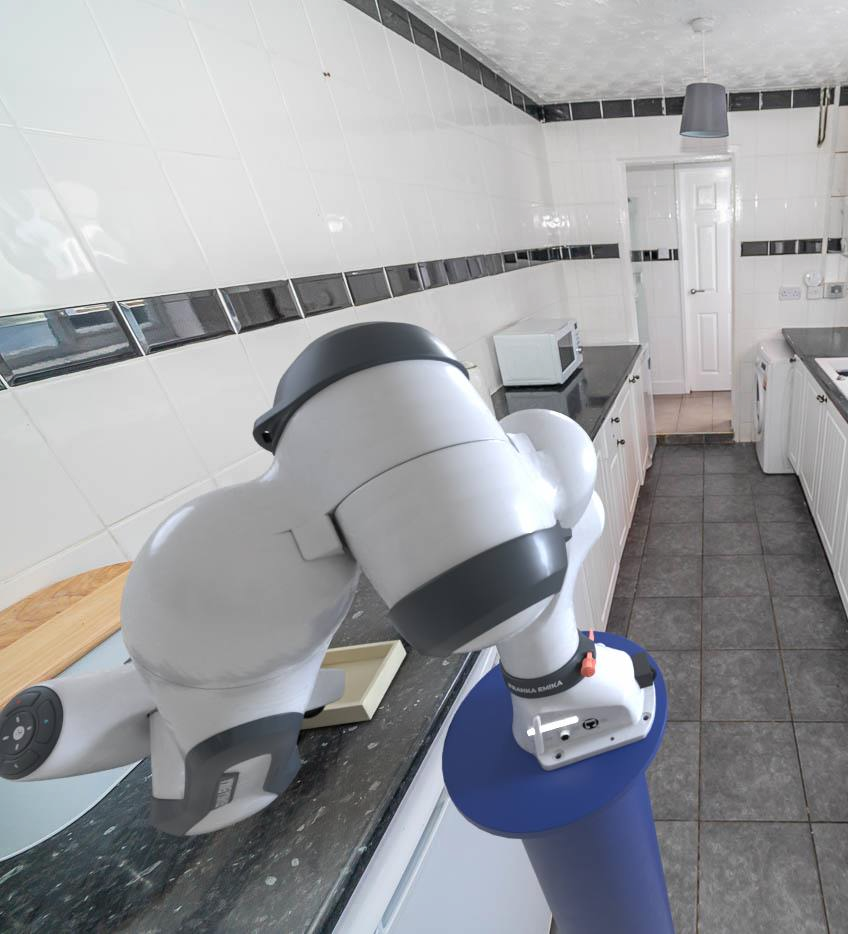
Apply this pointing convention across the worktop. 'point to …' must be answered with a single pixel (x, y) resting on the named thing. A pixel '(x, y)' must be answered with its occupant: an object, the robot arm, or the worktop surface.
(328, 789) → the worktop surface
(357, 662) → the cream wooden tray
